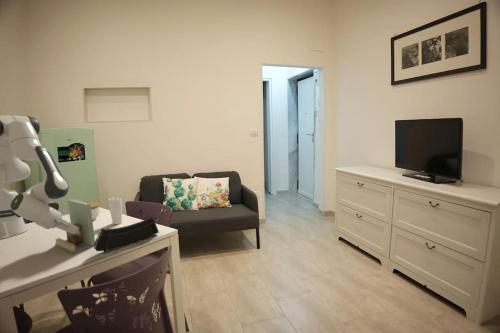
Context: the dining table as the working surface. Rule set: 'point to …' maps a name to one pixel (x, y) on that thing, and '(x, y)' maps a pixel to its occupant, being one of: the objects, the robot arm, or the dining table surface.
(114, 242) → the magazine
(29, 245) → the dining table surface
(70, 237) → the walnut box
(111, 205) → the drinking glass
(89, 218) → the wall board
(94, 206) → the lidded bowl
